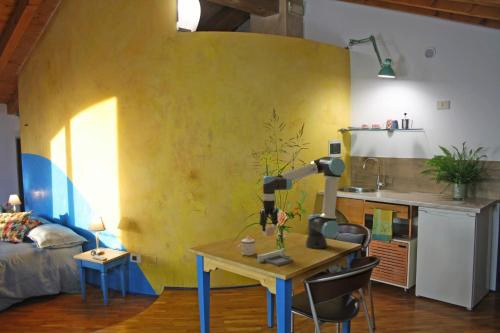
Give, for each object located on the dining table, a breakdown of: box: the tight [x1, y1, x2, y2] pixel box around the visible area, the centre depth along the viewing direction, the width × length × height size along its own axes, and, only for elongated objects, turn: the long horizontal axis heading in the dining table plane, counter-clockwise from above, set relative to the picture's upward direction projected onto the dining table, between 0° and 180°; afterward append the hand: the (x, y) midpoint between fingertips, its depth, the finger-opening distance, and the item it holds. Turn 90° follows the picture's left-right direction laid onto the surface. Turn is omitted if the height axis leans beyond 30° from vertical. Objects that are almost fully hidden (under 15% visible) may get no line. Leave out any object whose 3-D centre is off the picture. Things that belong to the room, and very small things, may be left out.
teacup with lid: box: [237, 235, 256, 256], centre depth 273 cm, size 12×9×12 cm
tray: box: [263, 255, 294, 267], centre depth 256 cm, size 14×12×2 cm
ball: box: [266, 225, 274, 237], centre depth 263 cm, size 6×6×6 cm
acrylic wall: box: [256, 247, 286, 263], centre depth 262 cm, size 23×2×5 cm, turn 131°
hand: (269, 235), depth 263 cm, fingers closed on ball, 6 cm apart
